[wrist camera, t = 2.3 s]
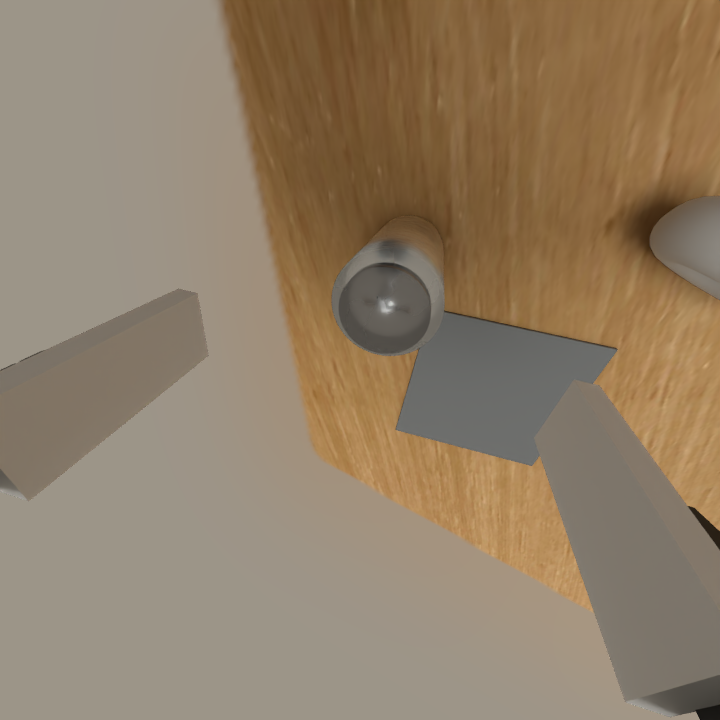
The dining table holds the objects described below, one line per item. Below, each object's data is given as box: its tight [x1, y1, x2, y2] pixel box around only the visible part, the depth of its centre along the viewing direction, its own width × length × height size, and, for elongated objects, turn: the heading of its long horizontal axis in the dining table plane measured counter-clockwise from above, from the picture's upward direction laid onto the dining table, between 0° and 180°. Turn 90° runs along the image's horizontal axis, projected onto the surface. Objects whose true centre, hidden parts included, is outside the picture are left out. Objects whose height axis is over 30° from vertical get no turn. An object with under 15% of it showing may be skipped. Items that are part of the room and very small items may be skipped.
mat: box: [396, 311, 617, 466], centre depth 29 cm, size 15×15×1 cm
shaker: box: [332, 215, 444, 356], centre depth 19 cm, size 6×6×12 cm
